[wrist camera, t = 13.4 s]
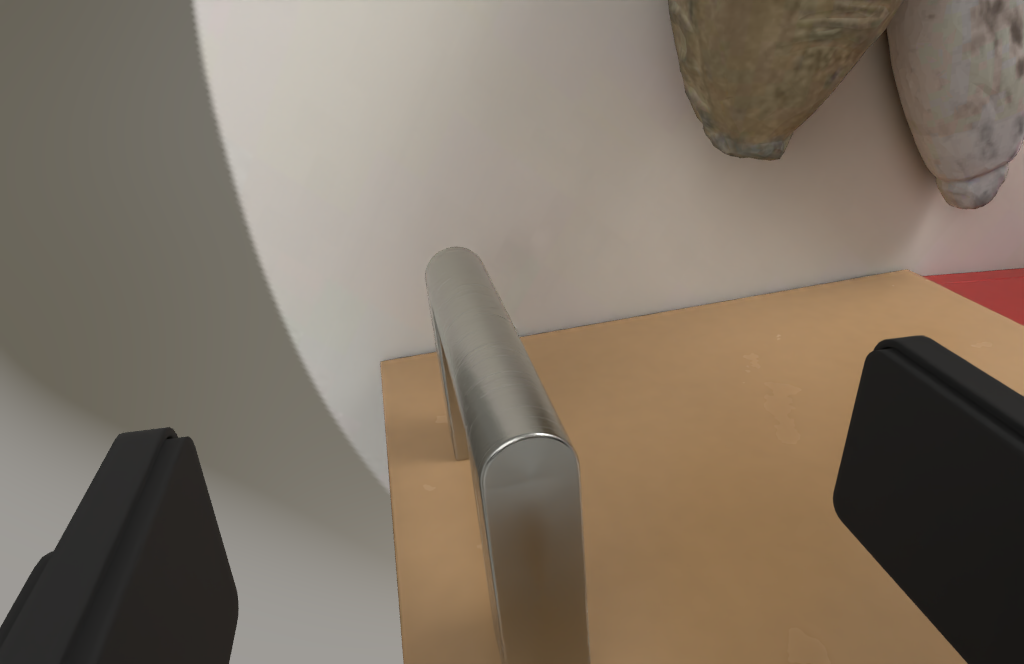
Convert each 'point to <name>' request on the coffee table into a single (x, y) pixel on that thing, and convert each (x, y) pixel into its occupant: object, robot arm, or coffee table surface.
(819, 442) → the wooden cabinet door
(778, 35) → the stone
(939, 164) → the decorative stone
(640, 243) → the coffee table surface
